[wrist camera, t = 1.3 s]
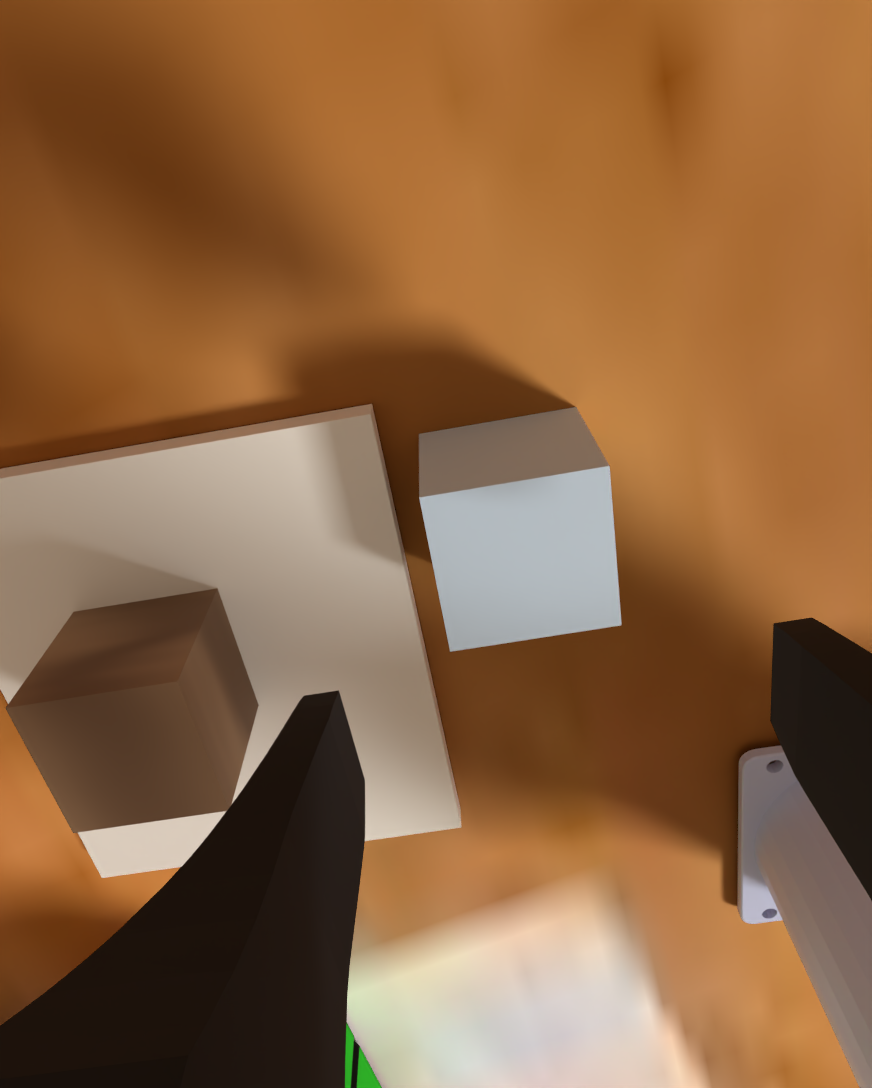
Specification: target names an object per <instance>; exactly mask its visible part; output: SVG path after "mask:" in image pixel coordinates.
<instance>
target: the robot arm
mask: <svg viewBox="0 0 872 1088" xmlns="http://www.w3.org/2000/svg"><path fill="white" fill-rule="evenodd" d="M770 721H771V723H772V726H773V728H774V730H775V732H776V735H777V737H778V739H779V742H780V744H781V745H780V746H773V747H766V748H759V749H753V750H750V751H747V752H746V753H744V754H743V755H742V757H741V758H740V760H739V782H738V912H739V914H740V917H741V919H742V920H743V921H744V922H746V923H750V924H757V923H764V922H772V921H780V920H783V922H784V924H785V926H786V929H787V931H788V933H789V935H790V937H791V939H792V942H793V944H794V946H795V948H796V950H797V952H798V955H799V957H800V959H801V961H802V963H803V965H804V968H805V970H806V972H807V974H808V976H809V978H810V981H811V983H812V985H813V987H814V989H815V991H816V994H817V996H818V998H819V1000H820V1002H821V1005H822V1007H823V1009H824V1011H825V1013H826V1015H827V1018H828V1020H829V1022H830V1024H831V1026H832V1028H833V1031H834V1033H835V1035H836V1037H837V1039H838V1041H839V1044H840V1046H841V1048H842V1050H843V1052H844V1054H845V1057H846V1059H847V1061H848V1063H849V1065H850V1068H851V1070H852V1072H853V1074H854V1076H855V1078H856V1081H857V1083H858V1085H859V1087H860V1088H872V653H870V652H869V651H867V650H865V649H864V648H862V647H860V646H859V645H857V644H855V643H854V642H852V641H851V640H849V639H847V638H846V637H844V636H842V635H841V634H839V633H837V632H836V631H834V630H832V629H831V628H829V627H827V626H826V625H824V624H822V623H821V622H819V621H817V620H815V619H813V618H806V619H800V620H793V621H787V622H780V623H774V628H773V659H772V689H771V720H770ZM774 760H776V761H775V762H774V763H771V764H769V763H770V762H771V761H774ZM364 842H365V779H364V775H363V772H362V768H361V765H360V761H359V758H358V754H357V751H356V747H355V744H354V741H353V737H352V734H351V730H350V727H349V723H348V720H347V716H346V713H345V710H344V706H343V703H342V699H341V696H340V692H339V690H338V691H331V692H325V693H318V694H312V695H305V696H303V697H302V699H301V700H300V701H299V703H298V704H297V706H296V707H295V709H294V710H293V712H292V714H291V715H290V717H289V719H288V720H287V722H286V723H285V725H284V727H283V728H282V730H281V732H280V733H279V735H278V736H277V738H276V740H275V741H274V743H273V744H272V746H271V747H270V749H269V751H268V752H267V754H266V755H265V757H264V758H263V760H262V761H261V763H260V764H259V766H258V767H257V769H256V770H255V772H254V773H253V775H252V776H251V778H250V779H249V781H248V782H247V784H246V785H245V787H244V788H243V789H242V791H241V792H240V794H239V795H238V796H237V798H236V799H235V800H234V802H233V803H232V804H231V806H230V807H229V808H228V810H227V811H226V812H225V814H224V815H223V816H222V818H221V819H220V820H219V822H218V823H217V824H216V826H215V827H214V828H213V830H212V831H211V832H210V834H209V835H208V836H207V837H206V839H205V840H204V841H203V842H202V843H201V845H200V846H199V847H198V848H197V850H196V851H195V852H194V853H193V854H192V855H191V857H190V858H189V859H188V860H187V861H186V862H185V863H184V865H183V866H182V867H181V868H180V869H179V870H178V871H177V872H176V873H175V875H174V876H173V877H172V878H171V879H170V880H169V881H168V882H167V883H166V884H165V885H164V886H163V887H162V888H161V889H160V890H159V891H158V892H157V893H156V894H155V895H154V896H153V897H152V898H151V899H150V900H149V901H148V902H147V903H146V904H145V905H144V906H143V907H142V908H141V909H140V910H139V911H138V912H137V913H136V914H135V915H134V916H133V917H132V918H131V919H130V920H129V921H128V922H127V923H126V924H125V925H124V926H123V927H122V928H121V929H120V930H118V931H117V932H116V933H115V934H114V935H113V936H112V937H111V938H110V939H109V940H107V941H106V942H105V943H104V944H103V945H102V946H101V947H99V948H98V949H97V950H96V951H95V952H94V953H93V954H91V955H90V956H89V957H88V958H87V959H86V960H84V961H83V962H82V963H81V964H80V965H78V966H77V967H76V968H75V969H74V970H72V971H71V972H70V973H69V974H68V975H66V976H65V977H64V978H63V979H62V980H60V981H59V982H58V983H57V984H55V985H54V986H53V987H52V988H50V989H49V990H48V991H47V992H45V993H44V994H43V995H41V996H40V997H39V998H37V999H36V1000H35V1001H33V1002H32V1003H31V1004H29V1005H28V1006H27V1007H25V1008H24V1009H23V1010H21V1011H20V1012H18V1013H17V1014H16V1015H14V1016H13V1017H12V1018H10V1019H9V1020H8V1021H6V1022H5V1023H4V1024H2V1025H1V1026H0V1088H345V1055H346V1017H347V990H348V978H349V965H350V957H351V949H352V941H353V933H354V925H355V917H356V909H357V901H358V893H359V885H360V876H361V868H362V859H363V851H364Z"/></svg>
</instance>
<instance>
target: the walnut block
mask: <svg viewBox="0 0 872 1088" xmlns="http://www.w3.org/2000/svg"><path fill="white" fill-rule="evenodd" d="M258 706H259V705H258V702H257V699H256V696H255V693H254V691H253V688H252V685H251V682H250V679H249V676H248V674H247V671H246V668H245V665H244V662H243V659H242V656H241V654H240V651H239V648H238V645H237V642H236V639H235V637H234V634H233V631H232V628H231V625H230V622H229V620H228V617H227V614H226V611H225V608H224V605H223V603H222V600H221V597H220V594H219V591H218V588H217V589H211V590H204V591H198V592H192V593H186V594H180V595H174V596H167V597H161V598H155V599H149V600H143V601H137V602H130V603H124V604H118V605H112V606H106V607H100V608H93V609H87V610H81V611H75V612H73V613H72V615H71V616H70V617H69V619H68V620H67V622H66V623H65V625H64V626H63V627H62V629H61V630H60V632H59V633H58V634H57V636H56V637H55V639H54V640H53V642H52V643H51V644H50V646H49V647H48V649H47V650H46V651H45V653H44V654H43V656H42V657H41V659H40V660H39V661H38V663H37V664H36V666H35V667H34V668H33V670H32V671H31V673H30V674H29V676H28V677H27V678H26V680H25V681H24V683H23V684H22V685H21V687H20V688H19V690H18V691H17V693H16V694H15V695H14V697H13V698H12V700H11V701H10V702H9V704H8V705H7V707H6V710H7V712H8V714H9V716H10V717H11V719H12V721H13V723H14V725H15V727H16V728H17V730H18V732H19V734H20V736H21V738H22V739H23V741H24V743H25V745H26V747H27V749H28V750H29V752H30V754H31V756H32V758H33V760H34V762H35V763H36V765H37V767H38V769H39V771H40V773H41V774H42V776H43V778H44V780H45V782H46V784H47V785H48V787H49V789H50V791H51V793H52V795H53V796H54V798H55V800H56V802H57V804H58V806H59V808H60V809H61V811H62V813H63V815H64V817H65V819H66V820H67V822H68V824H69V826H70V828H71V830H72V831H73V833H78V832H85V831H92V830H99V829H105V828H112V827H119V826H126V825H133V824H140V823H147V822H154V821H161V820H168V819H175V818H182V817H188V816H195V815H202V814H209V813H216V812H223V811H227V810H228V808H229V807H230V806H231V804H232V801H233V797H234V793H235V790H236V786H237V782H238V779H239V775H240V771H241V768H242V764H243V761H244V757H245V753H246V750H247V746H248V742H249V739H250V735H251V731H252V728H253V724H254V720H255V717H256V713H257V709H258Z"/></svg>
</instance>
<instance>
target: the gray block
mask: <svg viewBox="0 0 872 1088" xmlns="http://www.w3.org/2000/svg"><path fill="white" fill-rule="evenodd" d="M419 499H420V504H421V509H422V514H423V519H424V524H425V529H426V534H427V539H428V544H429V549H430V554H431V559H432V564H433V569H434V574H435V579H436V584H437V589H438V594H439V599H440V604H441V609H442V614H443V619H444V624H445V629H446V634H447V639H448V644H449V649H450V652H452V651H458V650H465V649H471V648H478V647H484V646H491V645H497V644H504V643H510V642H516V641H523V640H529V639H536V638H542V637H549V636H555V635H562V634H568V633H575V632H581V631H588V630H594V629H601V628H607V627H614V626H620V625H622V623H621V610H620V597H619V584H618V571H617V558H616V545H615V532H614V519H613V505H612V492H611V479H610V466H609V464H608V462H607V461H606V459H605V457H604V455H603V454H602V452H601V450H600V448H599V447H598V445H597V443H596V441H595V439H594V438H593V436H592V434H591V432H590V431H589V429H588V427H587V425H586V424H585V422H584V420H583V418H582V416H581V415H580V413H579V411H578V409H577V408H576V407H573V408H567V409H561V410H555V411H549V412H544V413H538V414H532V415H526V416H520V417H514V418H509V419H503V420H497V421H491V422H485V423H480V424H474V425H468V426H462V427H456V428H450V429H445V430H439V431H433V432H427V433H421V434H419Z"/></svg>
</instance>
